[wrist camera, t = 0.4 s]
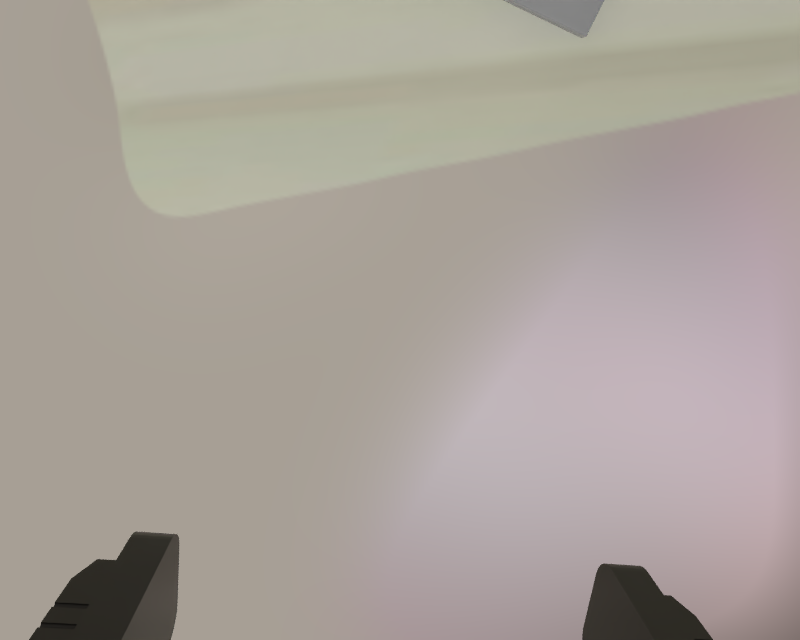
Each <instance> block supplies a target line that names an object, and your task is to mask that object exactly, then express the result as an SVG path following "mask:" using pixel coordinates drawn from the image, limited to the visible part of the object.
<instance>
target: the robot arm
mask: <svg viewBox="0 0 800 640" xmlns="http://www.w3.org/2000/svg"><path fill="white" fill-rule="evenodd" d="M178 565H179V537H178V535H177V534H164V533H149V532H134V533H133V534H132V535H131V537H130V538H129V540H128V542H127V543H126V545H125V547H124V549H123V550H122V552H121V553H120V555H119V556H118V558H117V560H100V559H98V560H96V561H94V562H93V563H92V564H90V565H89V566H88V567H87V568H85V569H84V570H82V571H81V572H80V573H78V574H77V575H76V576H74V577H73V578H71V580H70V581H69V583H68V584H67V586H66V587H65V589H64V590H63V592H62V593H61V594H60V596H59V597H58V599H57V600H56V602H55V605H54V607H51V609H50V610H49V612H48V613H47V615H46V616H45V618H44V619H43V620H42V622H41V626H40V628H37V629H36V630H35V632H34V633H33V635H32V636H31V638H30V639H29V640H171V636H172V633H173V629H174V624H175V619H176V613H177V599H178V567H179V566H178ZM582 639H583V640H713V639H712V638H711V636H710V635H709V634H708V632H707V631H706V630H705V628H704V627H703V625H702V624H701V623H700V621H699V620H698V619H697V617H696V616H695V615H694V614H692V613H691V612H690V611H689V610H688V609H686V608H685V607H684V606H683V605H681V604H680V603H679V602H678V601H676V600H675V599H674V598H673V597H672V596H667V595H663V594H662V592H661V591H660V589H659V588H658V586H657V585H656V583H655V582H654V581H653V579H652V578H651V576H650V575H649V573H648V572H647V571H646V570H645V569H644V568H643V567H641V566H632V565H616V564H602V565H600V567H599V568H598V570H597V573H596V577H595V581H594V586H593V590H592V594H591V598H590V602H589V606H588V611H587V615H586V619H585V623H584V628H583V638H582Z"/></svg>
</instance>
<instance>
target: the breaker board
mask: <svg viewBox="0 0 800 640" xmlns="http://www.w3.org/2000/svg"><path fill="white" fill-rule="evenodd" d="M504 1H506V2H508V3H510V4H512V5H514V6H516V7H519V8H521V9H523V10H525V11H527V12H529V13H531V14H533V15H535V16H537V17H539V18H541V19H544V20H546V21H548V22H550V23H552V24H554V25H556V26H558V27H560V28H562V29H564V30H566V31H568V32H571V33H573V34H575V35H577V36H579V37H581V38H582V37H586V36H587V34H588V32H589V30H590V28H591V26H592V24H593V22H594V20H595V18H596V16H597V14H598V12H599V10H600V8H601V6H602V4H603V2H604V0H504Z"/></svg>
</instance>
